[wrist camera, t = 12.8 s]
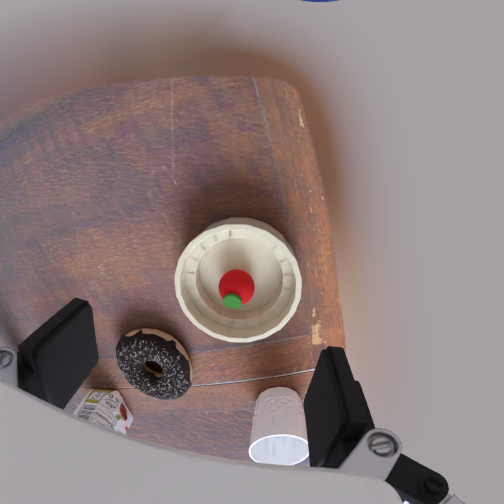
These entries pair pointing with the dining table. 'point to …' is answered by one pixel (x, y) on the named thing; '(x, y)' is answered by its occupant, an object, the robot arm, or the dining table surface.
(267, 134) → the dining table surface
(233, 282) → the tomato
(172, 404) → the dining table surface
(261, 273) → the bowl
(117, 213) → the dining table surface
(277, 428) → the white cup
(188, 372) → the donut
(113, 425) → the juice carton
